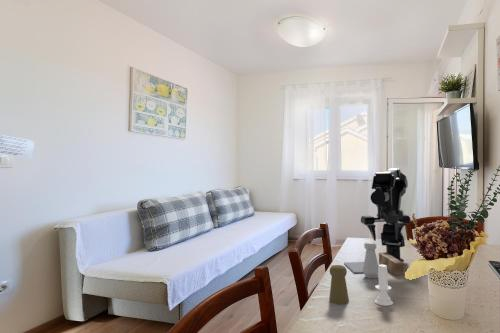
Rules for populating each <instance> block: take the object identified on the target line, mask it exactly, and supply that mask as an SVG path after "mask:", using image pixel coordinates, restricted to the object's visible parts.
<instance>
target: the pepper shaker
mask: <svg viewBox="0 0 500 333" xmlns="http://www.w3.org/2000/svg"><path fill="white" fill-rule="evenodd" d="M329 275H330V276H331V280H330V291H329V299H328V300H330V301H331V302H332V304H334V303H336V304H335V305H346V304H349V302H350V298H349V293H348V287H347V281H346V276H347V268H346V267H345V266H344V265H342V264H333V265H331V266H330V268H329ZM330 301H329V302H330ZM331 302H330V303H331Z"/></svg>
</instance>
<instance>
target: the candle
mask: <svg viewBox="0 0 500 333" xmlns="http://www.w3.org/2000/svg"><path fill="white" fill-rule="evenodd" d="M388 272H389V271H388V270H387V266H386V265H383V264H381V265H380V264H378V284H377V285H375V286H374V287H375V288H376V289H377V290H379V291H380V292H379V294H378V295H377V296H376V299H375V300H374V303H375V304H376V305H380V306H384V307H385V306H386V307H387V306H388V307H389V306H393V304H394V302H393V300H391V296H389V295H388V291H390V290H392V287H391V286H390V285H388V281H389V280H388Z"/></svg>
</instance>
